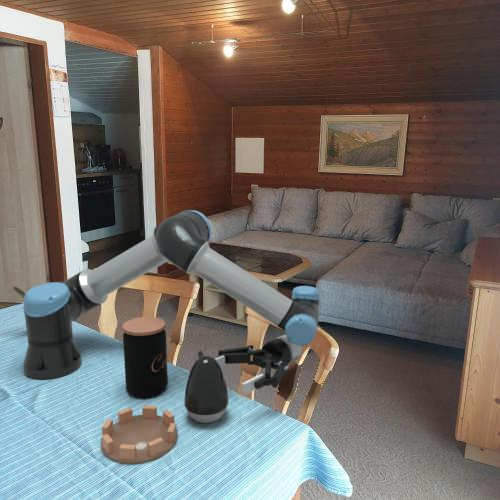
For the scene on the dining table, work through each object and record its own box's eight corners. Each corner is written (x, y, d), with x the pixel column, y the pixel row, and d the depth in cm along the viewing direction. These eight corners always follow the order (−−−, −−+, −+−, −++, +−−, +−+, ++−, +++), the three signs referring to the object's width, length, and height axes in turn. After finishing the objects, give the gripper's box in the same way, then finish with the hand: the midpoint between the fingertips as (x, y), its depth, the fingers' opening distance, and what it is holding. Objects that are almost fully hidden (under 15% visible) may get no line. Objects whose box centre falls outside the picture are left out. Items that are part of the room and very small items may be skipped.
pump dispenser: (220, 400, 113) (220, 344, 110) (234, 424, 104) (234, 362, 100) (180, 408, 109) (178, 350, 106) (190, 433, 100) (189, 370, 97)
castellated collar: (89, 435, 99) (88, 422, 98) (155, 409, 109) (154, 397, 108) (120, 475, 87) (119, 460, 86) (191, 442, 97) (191, 428, 96)
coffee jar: (158, 402, 112) (155, 334, 108) (118, 397, 114) (114, 330, 110) (173, 381, 122) (171, 318, 118) (137, 377, 124) (133, 315, 121)
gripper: (318, 380, 114) (260, 414, 100) (248, 349, 131) (190, 374, 117) (320, 353, 113) (261, 383, 98) (248, 325, 130) (189, 347, 115)
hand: (222, 378), depth 107 cm, fingers open, 13 cm apart
